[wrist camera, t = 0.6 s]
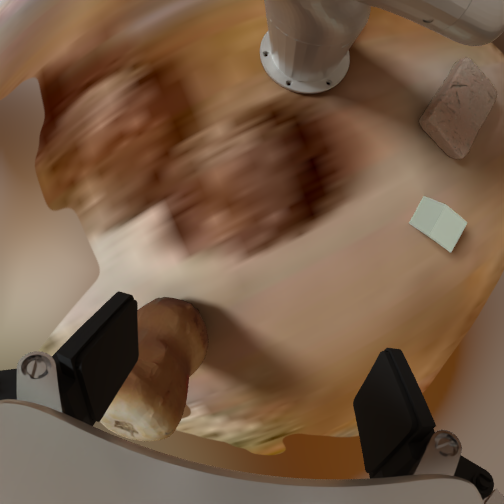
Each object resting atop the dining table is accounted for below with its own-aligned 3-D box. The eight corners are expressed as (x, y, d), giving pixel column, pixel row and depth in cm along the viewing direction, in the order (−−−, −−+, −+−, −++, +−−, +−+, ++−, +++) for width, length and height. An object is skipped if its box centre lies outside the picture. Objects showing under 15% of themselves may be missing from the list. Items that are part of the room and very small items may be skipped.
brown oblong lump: (200, 359, 52) (158, 468, 28) (137, 327, 51) (70, 421, 27) (228, 305, 47) (186, 427, 24) (156, 269, 46) (67, 363, 23)
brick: (455, 58, 29) (469, 52, 25) (486, 94, 30) (502, 92, 26) (413, 123, 35) (426, 121, 30) (448, 160, 36) (463, 162, 31)
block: (423, 195, 38) (445, 204, 31) (444, 212, 38) (467, 222, 32) (408, 223, 40) (428, 236, 33) (430, 238, 40) (450, 252, 33)
